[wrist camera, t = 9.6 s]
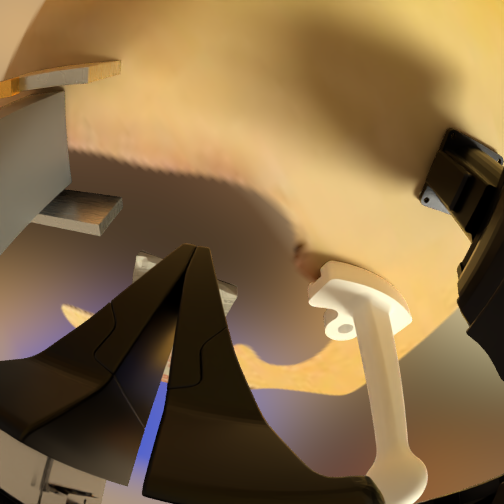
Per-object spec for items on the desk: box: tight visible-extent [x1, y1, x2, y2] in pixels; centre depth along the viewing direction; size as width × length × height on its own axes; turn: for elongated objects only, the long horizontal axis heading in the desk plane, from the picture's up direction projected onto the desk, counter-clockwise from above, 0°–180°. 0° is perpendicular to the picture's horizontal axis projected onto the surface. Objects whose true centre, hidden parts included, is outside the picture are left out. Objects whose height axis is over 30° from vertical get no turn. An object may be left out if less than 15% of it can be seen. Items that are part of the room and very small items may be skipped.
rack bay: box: [0, 61, 123, 236], centre depth 15 cm, size 10×12×8 cm
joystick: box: [308, 261, 428, 504], centre depth 19 cm, size 11×8×20 cm
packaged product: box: [132, 250, 237, 383], centre depth 30 cm, size 18×5×10 cm
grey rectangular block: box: [0, 91, 72, 255], centre depth 14 cm, size 4×8×10 cm, turn 171°
